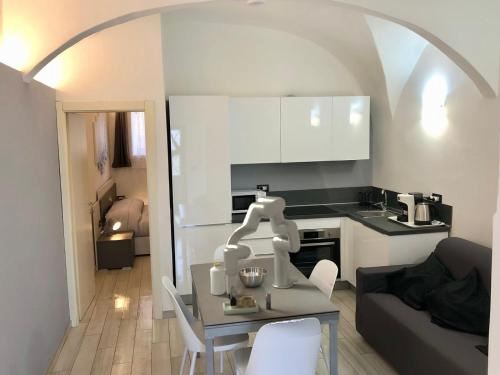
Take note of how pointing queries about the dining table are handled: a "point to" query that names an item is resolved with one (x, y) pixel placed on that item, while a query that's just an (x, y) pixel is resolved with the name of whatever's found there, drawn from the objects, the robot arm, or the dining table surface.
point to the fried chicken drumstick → (244, 302)
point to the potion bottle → (217, 279)
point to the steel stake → (268, 301)
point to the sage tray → (229, 311)
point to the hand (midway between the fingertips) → (232, 302)
